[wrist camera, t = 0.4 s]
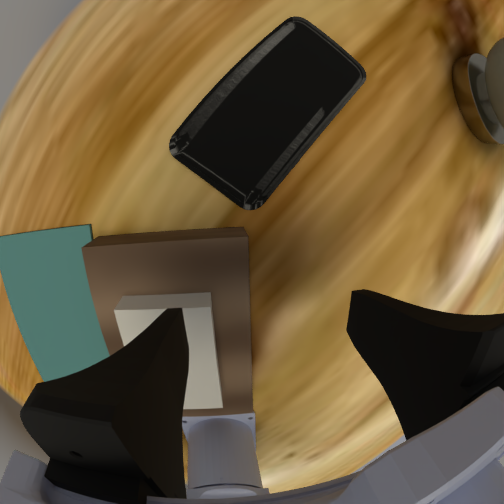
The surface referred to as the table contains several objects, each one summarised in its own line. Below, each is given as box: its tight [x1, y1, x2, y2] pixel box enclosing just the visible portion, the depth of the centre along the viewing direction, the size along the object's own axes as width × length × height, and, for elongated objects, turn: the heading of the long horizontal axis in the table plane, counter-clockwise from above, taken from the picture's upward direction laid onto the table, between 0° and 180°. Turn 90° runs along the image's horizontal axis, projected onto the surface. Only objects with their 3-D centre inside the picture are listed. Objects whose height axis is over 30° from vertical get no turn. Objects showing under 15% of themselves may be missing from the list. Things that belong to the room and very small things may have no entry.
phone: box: [169, 17, 366, 210], centre depth 17 cm, size 8×1×15 cm
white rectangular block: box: [114, 292, 223, 409], centre depth 17 cm, size 9×6×2 cm, turn 1°
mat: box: [0, 224, 110, 382], centre depth 19 cm, size 18×12×1 cm, turn 1°
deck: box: [81, 227, 253, 417], centre depth 20 cm, size 16×11×3 cm
